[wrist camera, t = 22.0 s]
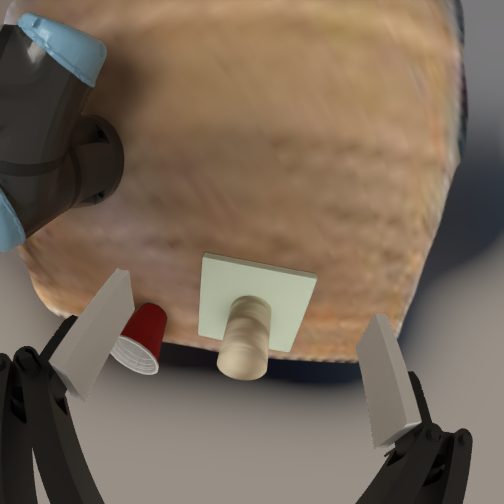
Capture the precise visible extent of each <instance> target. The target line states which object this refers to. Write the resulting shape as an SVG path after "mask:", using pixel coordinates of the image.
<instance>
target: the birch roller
mask: <svg viewBox="0 0 504 504" xmlns="http://www.w3.org/2000/svg"><path fill="white" fill-rule="evenodd" d="M270 325H271V307H270V305H269V304H268V303H267V302H266V301H265V300H263V299H262V298H260V297H257V296H251V295H248V296H242V297H239V298H237V299H236V300H235V301H234V302H233V303H232V305H231V309H230V313H229V317H228V321H227V325H226V329H225V333H224V337H223V340H222V344H221V348H220V352H219V356H218V360H217V365H218V368H219V369H220V370H221V371H222V372H223V373H224V374H226V375H227V376H229V377H232V378H235V379H239V380H253V379H257V378H259V377H261V376H263V375H264V374H265V372H266V370H267V360H268V349H269V337H270Z"/></svg>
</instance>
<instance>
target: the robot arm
mask: <svg viewBox="0 0 504 504" xmlns="http://www.w3.org/2000/svg"><path fill="white" fill-rule="evenodd" d="M17 24H18V25H8V24H2V25H0V252H1V253H2V252H8V251H10V250H11V249H13V248H14V247H16V246H18V245H19V244H22V243H24V242H25V241H26V239H27V238H29V237H30V236H31V235H32V234H34V233H35V232H36V231H38V230H39V229H41V228H42V227H43V226H45V225H46V224H48V223H49V222H50V221H52V220H53V219H55V218H56V217H58V216H59V215H61V214H62V213H64V212H65V211H67V210H68V209H70V208H77V207H86V206H92V205H95V204H98V203H99V202H101V201H103V200H104V199H106V198H107V197H109V196H110V195H111V194H112V193H113V192H114V191H115V189H116V188H117V186H118V184H119V182H120V179H121V176H122V172H123V165H124V157H123V149H122V145H121V142H120V139H119V137H118V135H117V133H116V131H115V130H114V128H113V127H112V126H111V125H110V124H109V123H108V122H107V121H106V120H104V119H102V118H100V117H98V116H94V115H87V116H81V113H82V111H83V108H84V106H85V104H86V102H87V99H88V97H89V95H90V93H91V91H92V89H93V88H94V87H95V85H96V79H97V77H98V74H99V72H100V70H101V68H102V66H103V64H104V62H105V59H106V56H107V48H106V46H105V44H104V43H103V42H102V41H100V40H99V39H97V38H95V37H93V36H91V35H89V34H87V33H85V32H83V31H80V30H78V29H76V28H73V27H71V26H68V25H66V24H64V23H61V22H58V21H56V20H53V19H50V18H47V17H44V16H40V15H37V14H34V13H30V12H27V13H25V14H24V15H23V16H22V17H21V18H20V19H18V22H17ZM80 116H81V117H80ZM134 310H135V307H134V301H133V295H132V288H131V282H130V274H129V271H127V270H122V269H118V268H117V269H116V270H115V271H114V273H113V274H112V275H111V276H110V277H109V279H108V280H107V281H106V282H105V284H104V285H103V286H102V287H101V289H100V290H99V291H98V292H97V294H96V295H95V296H94V298H93V299H92V300H91V301H90V303H89V304H88V305H87V307H86V308H85V309H84V311H83V312H82V313H81V315H80V316H79V317H77V316H74V315H71V316H70V317H69V318H67V319H66V320H64V322H63V323H62V324H61V326H60V327H59V329H58V330H57V331H56V333H55V334H54V336H53V337H52V338H51V339H50V341H49V342H48V344H47V345H46V346H45V348H44V349H43V351H42V352H41V354H40V355H38V353H37V351H36V350H35V349H34V348H32V347H30V346H24V347H21V348H20V349H19V350H18V351H16V353H15V355H14V358H13V361H11V359H10V358H9V356H7V355H6V354H4V353H0V504H38V502H37V496H36V490H35V481H34V471H33V457H32V448H33V451H34V455H35V459H36V463H37V466H38V470H39V473H40V476H41V479H42V482H43V485H44V488H45V490H46V493H47V496H48V498H49V501H50V504H104V502H103V499H102V497H101V495H100V494H99V491H98V489H97V487H96V485H95V483H94V480H93V478H92V476H91V473H90V471H89V469H88V466H87V463H86V461H85V458H84V455H83V453H82V450H81V447H80V444H79V441H78V438H77V435H76V432H75V428H74V425H73V422H72V418H71V415H70V411H69V407H68V403H67V399H66V396H65V393H66V391H67V390H68V391H69V392H70V394H71V395H72V396H73V397H76V398H78V399H80V400H82V401H84V402H85V400H86V398H87V396H88V394H89V392H90V390H91V388H92V386H93V384H94V382H95V380H96V378H97V376H98V374H99V372H100V370H101V368H102V367H103V365H104V363H105V361H106V359H107V357H108V355H109V353H110V352H111V350H112V348H113V346H114V345H115V343H116V341H117V339H118V337H119V336H120V334H121V332H122V330H123V329H124V327H125V325H126V324H127V322H128V320H129V318H130V317H131V315H132V313H133V312H134ZM356 350H357V354H358V359H359V363H360V368H361V373H362V378H363V383H364V388H365V394H366V398H367V405H368V411H369V417H370V423H371V430H372V436H373V444H374V449H376V448H384V447H389V446H390V445H391V444H393V443H394V442H395V448H393V449H392V450H391V451H389V452H388V453H386V454H385V455H384V457H386V456H388V455H389V454H390V455H389V457H388V458H387V460H386V461H385V463H384V464H383V466H382V468H381V469H380V471H379V472H378V474H377V475H376V477H375V478H374V479H373V481H372V482H371V484H370V485H369V486H368V488H367V489H366V491H365V492H364V493H363V494H362V496H361V497H360V498H359V500H358V501H357V502H356V503H355V504H463V500H464V495H465V491H466V486H467V480H468V475H469V468H470V461H471V453H472V442H473V441H472V436H471V433H470V432H469V431H468V430H467V429H463V428H462V429H459V430H458V431H457V432H455V433H449V432H443V431H442V430H441V428H440V427H439V426H438V425H437V424H434V423H432V420H431V417H430V413H429V410H428V407H427V403H426V400H425V397H424V393H423V390H422V387H421V384H420V381H419V379H418V377H417V376H416V375H415V373H414V372H413V371H412V372H407V369H406V366H405V363H404V360H403V357H402V355H401V351H400V349H399V346H398V343H397V340H396V337H395V335H394V332H393V329H392V327H391V324H390V322H389V319H388V317H387V314H378V313H375V314H374V316H373V318H372V319H371V321H370V323H369V325H368V327H367V328H366V330H365V332H364V334H363V335H362V337H361V339H360V341H359V342H358V344H357V346H356Z"/></svg>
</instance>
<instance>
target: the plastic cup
mask: <svg viewBox="0 0 504 504" xmlns="http://www.w3.org/2000/svg"><path fill="white" fill-rule="evenodd" d="M166 319H167V317H166V314H165V312H164V311H163V310H162V309H161V308H160V307H159V306H157V305H154V304H150V303H148V304H144V305H143V306H142V307H141V308H140V309H139V310H138V311H137V312H136V313H135V314H134V315H133V316H132V317H131V318H130V319H129V320H128V322H127V324H126V325H125V327H124V329H123V330H122V332H121V334H120V336H119V337H118V339H117V341H116V343H115V345H114V346H113V348H112V350H111V352H110V353H111V354H112V355H113V356H114V358H116V360H118V361H119V362H120V363H122V364H123V365H124V366H126V367H128V368H130V369H131V370H133V371H136V372H139V373H142V374H150V375H152V374H155V373H157V371H158V367H159V365H158V359H159V353H160V352H159V351H160V347H161V343H162V339H163V335H164V331H165V330H164V329H165V325H166V321H167V320H166Z"/></svg>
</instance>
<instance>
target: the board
mask: <svg viewBox="0 0 504 504" xmlns="http://www.w3.org/2000/svg"><path fill="white" fill-rule="evenodd" d="M316 281H317V275H316V274H315V273H310V272H304V271H299V270H294V269H288V268H283V267H278V266H273V265H268V264H263V263H257V262H252V261H247V260H242V259H237V258H232V257H227V256H222V255H217V254H212V253H206V252H205V254H204V256H203V261H202V275H201V290H200V308H199V329H198V335H201V336H205V337H210V338H214V339H219V340H223V337H224V333H225V329H226V325H227V321H228V317H229V313H230V309H231V305H232V303H233V302H234V301H235V300H236V299H237V298H239V297H242V296H248V295H251V296H257V297H260V298H262V299H263V300H265V301H266V302H267V303H268V304H269V305H270V307H271V325H270V337H269V349H272V350H278V351H285V352H289V351H290V349H291V346H292V344H293V341H294V339H295V336H296V334H297V331H298V329H299V326H300V324H301V321H302V319H303V316H304V313H305V311H306V308H307V306H308V303H309V300H310V297H311V295H312V292H313V289H314V286H315V284H316Z"/></svg>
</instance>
